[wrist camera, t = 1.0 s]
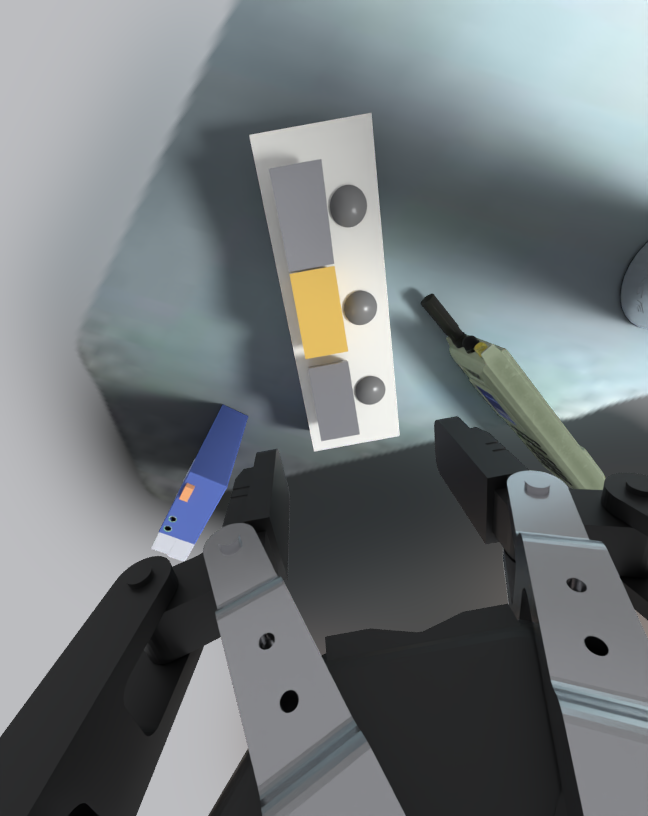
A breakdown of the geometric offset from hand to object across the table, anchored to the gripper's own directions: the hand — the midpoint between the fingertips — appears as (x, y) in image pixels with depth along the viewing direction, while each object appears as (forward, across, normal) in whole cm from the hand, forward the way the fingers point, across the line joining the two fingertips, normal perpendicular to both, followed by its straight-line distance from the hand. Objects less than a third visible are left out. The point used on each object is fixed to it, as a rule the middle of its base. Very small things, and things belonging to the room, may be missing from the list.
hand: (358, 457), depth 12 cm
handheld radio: (+22, -17, +9) cm, 29 cm away
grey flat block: (+17, 0, -9) cm, 20 cm away
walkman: (+22, +12, +9) cm, 26 cm away
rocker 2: (+17, 0, +5) cm, 18 cm away
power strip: (+21, -2, -2) cm, 22 cm away
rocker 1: (+17, 0, -2) cm, 18 cm away
